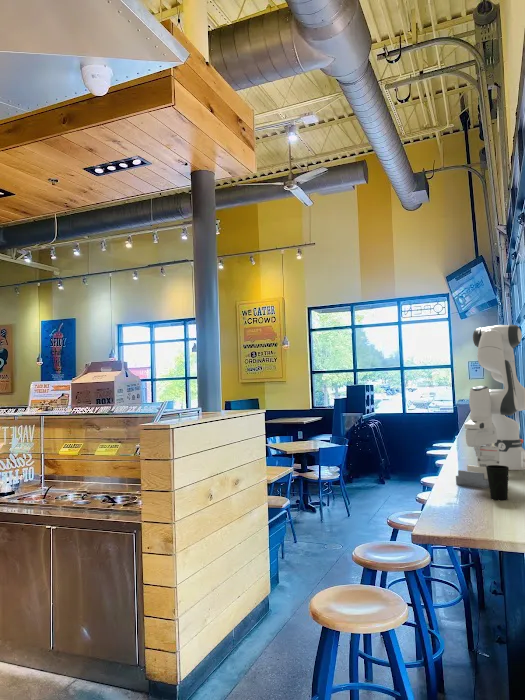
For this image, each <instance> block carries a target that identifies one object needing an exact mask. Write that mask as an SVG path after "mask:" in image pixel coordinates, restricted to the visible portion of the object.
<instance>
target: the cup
mask: <svg viewBox="0 0 525 700" xmlns="http://www.w3.org/2000/svg"><path fill="white" fill-rule="evenodd" d="M486 469H487V476H488V482H489V488H488V489H489V495H490V499H491V500H492V499H493V501H498V500H500V501H501V502H503V501H507V500H508V498H509V497H508V493H509V492H508V491H509V471H510V470H509V467H507V466H501V465H489V466H486ZM500 501H499V502H500Z"/></svg>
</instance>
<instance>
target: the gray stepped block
mask: <svg viewBox="0 0 525 700" xmlns="http://www.w3.org/2000/svg"><path fill="white" fill-rule="evenodd" d="M457 473H458V474H457V475H455V484H456V485H458V486H465V487H474V488H480V489H490V488H489V482H488V478H487V479H485V478H484V473H479V472H471V471H467V470H462V469H458V471H457Z"/></svg>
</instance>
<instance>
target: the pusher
mask: <svg viewBox="0 0 525 700" xmlns="http://www.w3.org/2000/svg"><path fill="white" fill-rule="evenodd" d="M466 467H467V470H466V471H471V472H479V473H484V478H485V479H487V478H488V476H487V469H486V467H482V466H477V465H473V464H472V465H471V464H468V465H467V466H466Z"/></svg>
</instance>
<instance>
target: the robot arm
mask: <svg viewBox="0 0 525 700" xmlns="http://www.w3.org/2000/svg"><path fill="white" fill-rule="evenodd" d="M522 337H523V334H522V331H521V328H520V327H519V325H516V324H496V325H490V326H485V327H483V326H481V327H478V328H475V330H474V331H473V334H472V342H473V344H474V347H475V346H476V348H477V354H476V355H477V362H478V364H479V366H481V368H483V369H485V370H486V371H489V372H490V374H491V375H490V376H491V377H492V379H493V380H494V381H496V382H498V383H500V384H503V388H501V389H499V388H497V389H490V388H489V386H486V385H475V386H472V387H470V390H469V400H468V402H469V403H468V404H469V409H470V414H469V420H468V421H466V422H465V423H464V429H466V430H465V441H466V445H467V447H469V448H470V447H471V448H473V449H474V450H473V451H475V456H476V457H477V456H478V457H480V456H482V455H481V452H480V446H493V445H494V446H493V447H499V465H501V466H507V467H509V471H510V470H511V471H516V470H517V471H519V470H520V471H521V470H522V471H523V470H525V449H524V448H523V447H522V446H523V443H524V439H522V438H520V428H519V427H520V426H519V424H518V422H517V421H516V420H515V419H513V418H511V416H513V415H514V414H515V413H516V412H522V411H525V386H523V384H521V383H520V381H519V380H518V375H517V372H516V361H515V353H514V349H515V348H516V347H517V346H519V344H521V341H522ZM508 416H509V417H508ZM492 444H493V445H492Z"/></svg>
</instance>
